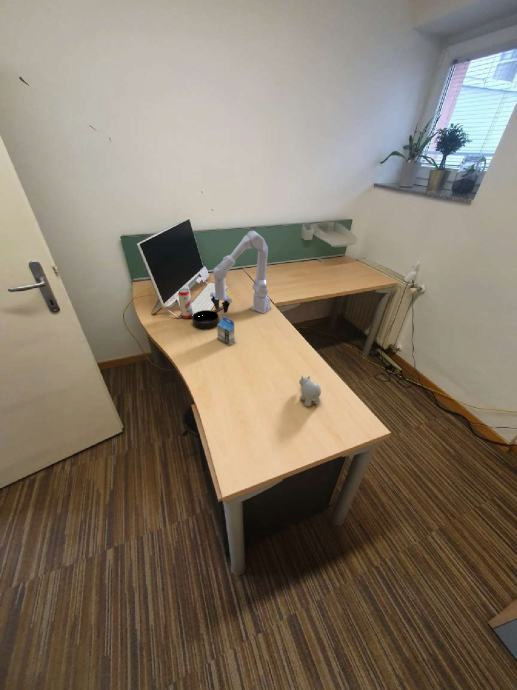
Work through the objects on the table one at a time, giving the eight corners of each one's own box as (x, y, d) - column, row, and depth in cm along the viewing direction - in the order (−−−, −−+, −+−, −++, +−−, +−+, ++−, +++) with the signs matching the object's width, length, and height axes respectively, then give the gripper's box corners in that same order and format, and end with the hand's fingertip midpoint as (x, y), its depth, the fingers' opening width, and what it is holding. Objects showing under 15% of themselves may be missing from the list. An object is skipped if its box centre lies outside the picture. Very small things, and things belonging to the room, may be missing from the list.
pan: (235, 314, 158) (234, 308, 156) (206, 332, 142) (205, 326, 140) (216, 307, 165) (216, 301, 162) (187, 324, 149) (186, 317, 146)
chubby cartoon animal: (308, 384, 113) (311, 368, 108) (322, 405, 104) (325, 389, 99) (292, 387, 111) (294, 371, 106) (304, 409, 102) (307, 393, 97)
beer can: (195, 315, 156) (192, 289, 147) (188, 320, 152) (184, 293, 142) (186, 312, 158) (182, 287, 149) (179, 317, 154) (175, 291, 144)
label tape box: (217, 338, 138) (215, 317, 131) (223, 335, 140) (222, 314, 133) (229, 345, 133) (228, 324, 126) (235, 342, 136) (234, 321, 128)
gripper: (205, 287, 150) (207, 309, 158) (225, 294, 144) (226, 317, 152) (214, 283, 155) (215, 305, 163) (234, 290, 149) (234, 312, 157)
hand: (221, 310), depth 158 cm, fingers open, 6 cm apart
